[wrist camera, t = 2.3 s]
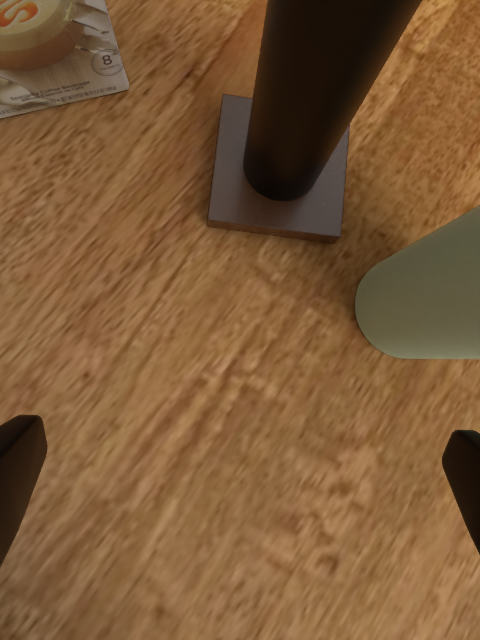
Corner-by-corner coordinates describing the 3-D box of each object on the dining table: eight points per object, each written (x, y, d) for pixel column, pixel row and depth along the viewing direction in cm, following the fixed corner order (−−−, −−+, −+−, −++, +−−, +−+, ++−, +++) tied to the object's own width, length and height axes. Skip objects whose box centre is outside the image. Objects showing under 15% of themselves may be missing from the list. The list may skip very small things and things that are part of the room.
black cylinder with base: (334, 243, 23) (752, -149, 5) (207, 227, 23) (187, -267, 5) (344, 125, 24) (731, -560, 6) (221, 106, 24) (251, -697, 6)
